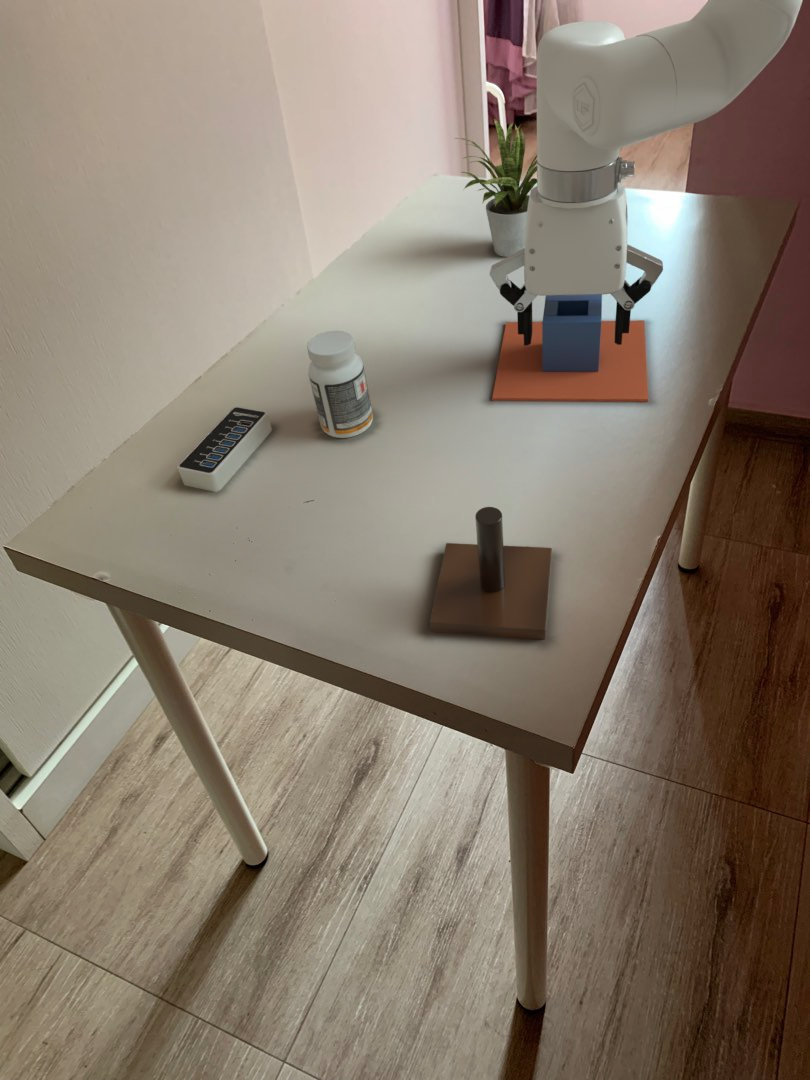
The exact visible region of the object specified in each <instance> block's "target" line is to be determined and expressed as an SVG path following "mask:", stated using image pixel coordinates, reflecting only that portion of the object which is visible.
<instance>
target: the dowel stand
mask: <svg viewBox="0 0 810 1080" xmlns="http://www.w3.org/2000/svg"><path fill="white" fill-rule="evenodd" d="M474 518H475V529H476V532H475V533H476V544H475V543H452V542H446V543H445V547H444V552H443V557H442V560H441V561H442V562H441V566H440V571H439V576H438V581H437V586H436V590H435V595H434V600H433V606H432V609H431V614H430V619H429V627H430V632H432V633H447V634H458V635H459V634H461V635H475V636H487V637H489V636H490V637H504V638H518V639H519V638H520V639H531V640H532V639H534V640H546V637H547V625H548V613H549V611H548V610H549V600H550V599H549V598H550V586H551V574H552V573H551V571H552V561H553V548H552V547H545V546H544V547H543V546H542V547H541V546H523V545H521V546H519V545H504V527H503V512H502V511H501V510H500V509H499V508H497V507H493V506H485V507H482V508H479V509H478V511H477V512H476V513H475V517H474Z"/></svg>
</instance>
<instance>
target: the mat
mask: <svg viewBox="0 0 810 1080" xmlns="http://www.w3.org/2000/svg"><path fill="white" fill-rule="evenodd" d="M542 322H543V321H532V338H531V344H529V345H524V334H518V321H507V322H505V326H504V333H503V337H502V343H501V346H500V347H501V348H500V353H499V358H498V363H497V369H496V374H495V382H494V385H493V392H492V396H491V402H500V401H501V402H587V403H588V402H595V403H596V402H597V403H599V402H600V403H601V402H603V403H606V402H607V403H611V402H612V403H648V402H649V386H648V368H647V367H648V362H647V346H646V326H645V324H646V323H645V320H630V326H629V333H622V345H617V343H615V320H601V337H600V355H599V371H598V372H543V371H542Z"/></svg>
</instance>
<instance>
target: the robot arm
mask: <svg viewBox="0 0 810 1080" xmlns="http://www.w3.org/2000/svg"><path fill="white" fill-rule="evenodd" d="M803 1H804V0H707V1H706V2H705V4H704V5H703V6H702V7H701V9H699V11H698V12H697V13H696V14H695V15H694V16H693V17H692V18H691V19H690V20H687V21H683V22H680V23H679V22H678V23H675V24H672V25H669V26H665V27H662V28H659V29H658V28H657V29H655V30H651V31H648V32H645V33H641V34H638V35H635V36H633V37H629V38H626V37H625V33H624V32H623V30H622V29H621V27H619V26H618V25H617V24H614V23H611V22H607V21H602V20H585V21H575V22H569V23H564V24H561V25H558V26H556V27H553V28H551V29H549V30H548V31H546V32H545V33H544V34H543V35H542V37H541V38H540V40H539V42H538V45H537V50H536V155H537V158H536V160H537V163H536V166H537V171H536V179H537V183H536V186H533V188H532V189H531V190H530V191H529V195H530V197H529V202H528V209H527V217H526V231H525V248H523V249H522V250H520V251H518V252H516V253H514V254H512V255H510V256H509V257H504V258H503V259H501V260H499V261H497V262H496V263H494V264H492V265H491V266H490V270H489V276H490V278H491V280H492V282H493V283H494V285H495V287H496V288H497V290H498V291H499V294H500V296H501V297H502V298H504V299H505V300H506V302H508V303H509V304H511V305H512V306H513V309H514V311H515V312H516V313H517V314H516V315H517V322H518V334H524V345H529V344H531V338H532V322H533V301H534V300H535V299H536V298H537V297H538V296H540V297H546V296H565V295H602V296H603V295H610V296H611V297H612V298H613V299H614V300H615V301H616V307H615V308H616V309H615V320H614V321H615V343H617V345H622V333H629V326H630V321H631V312H632V310H633V309H634V308H635V306H636V304H637V303H638V302H639V301H641V300H642V299H643V298H644V297H645V296H646V295H647V294H649V293H650V292H651V290H652V288H653V285H654V284H655V283H656V282H657V280H658V279H659V277H660V276H661V274H663V273H662V272H663V271H664V264H663V261H662V259H660V258H657V257H655V256H653V255H651V254H650V253H647V252H645V251H643V250H640V249H638V248H636V247H634V246H632V245H630V244H628V227H629V226H628V225H629V221H628V219H629V217H628V201H627V192H626V187H625V185H624V184H623V183H622V180H626V178H634V177H635V164H636V162H635V161H627V160H626V159H623V157H622V156H620V150H621V149H625V148H626V147H630V146H633V145H635V144H638V143H642V142H645V141H647V140H650V139H653V138H656V137H658V136H659V135H663V134H666V133H668V132H671V131H675V130H678V129H681V128H683V127H686V126H687V127H688V126H691V125H693V124H696V123H699V122H702V121H704V120H706V119H708V118H710V117H712V116H714V115H716V114H717V113H720V111H722V110H724V108H726V107H727V106H728V105H730V104H731V103H732V102H733V101H734V100H735V99H736V98H737V97H738V96H739V95H741V93H742V92H743V91H744V90H745V89H746V88H747V87H748V86H749V85H750V84H751V83H752V82H753V81H754V80H755V79H756V77H758V75H759V74H760V73H761V72H762V71H763V70H764V69H765V68H766V67H767V66H768V64H769V63H770V62H771V61H773V59H774V58H775V57H776V55H777V54H778V53H779V52H780V51H781V49H782V47H784V45H785V44H786V41H788V38H789V37H790V35H791V33H792V30H793V29H794V26H795V24H796V21H797V18H798V15H799V12H800V10H801V7H802V4H803ZM627 264H629V265H631V266H633V267H635V268H637V269H639V270H641V271H643V274H642V276H640V277H639V278H638V279H636V280H635V281H634V282H633V283H632V284H631V285H630V284H629V282H627V280H626V273H627ZM522 267H523V275H524V276H523V281H524V283H523V284H522V285H521V287H519V286H517V285H516V284H515V283H514V282H513V281H512V280H511V279H510V277H509V276H508V275H509V274H511V273H513V272H515V271H517V270H519V269H521V268H522Z"/></svg>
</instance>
